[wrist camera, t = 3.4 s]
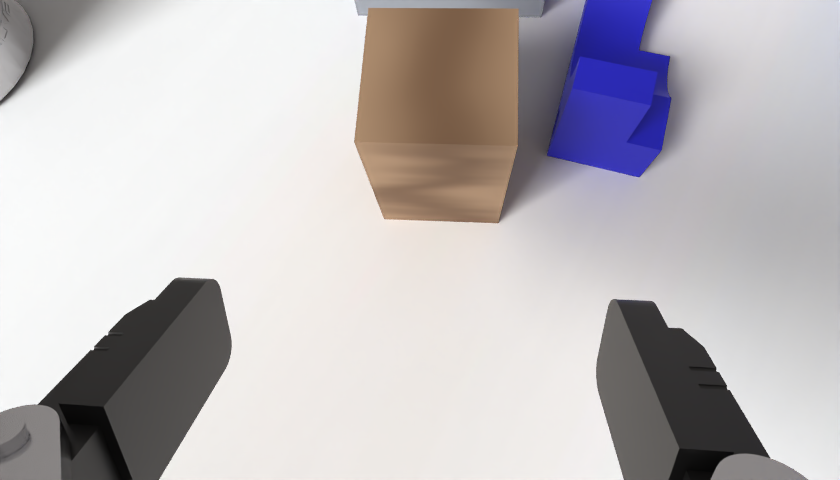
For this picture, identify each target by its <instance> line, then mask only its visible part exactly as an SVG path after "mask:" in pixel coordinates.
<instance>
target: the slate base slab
mask: <svg viewBox="0 0 840 480" xmlns="http://www.w3.org/2000/svg"><path fill="white" fill-rule="evenodd" d="M544 2H545V0H355V4H356V8H357V12H358V15H368V8H508V9H519V17H541V15H542V11H543V6H544Z"/></svg>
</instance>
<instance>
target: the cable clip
mask: <svg viewBox="0 0 840 480" xmlns="http://www.w3.org/2000/svg"><path fill="white" fill-rule="evenodd" d="M651 3H652V0H586V1H585V5H584V9H583V13H582V17H581V21H580V25H579V29H578V33H577V37H576V41H575V45H574V49H573V53H572V57H571V61H570V65H569V69H568V73H567V77H566V81H565V85H564V89H563V93H562V97H561V101H560V105H559V109H558V113H557V117H556V121H555V125H554V129H553V133H552V137H551V141H550V145H549V149H548V153H547V156H551V157H555V158H559V159H564V160H568V161H572V162H577V163H581V164H585V165H589V166H594V167H598V168H602V169H606V170H611V171H615V172H619V173H623V174H628V175H632V176H636V177H640V176H641V174H642V173H643V172H644V171H645V170H646V168H647V167H648V166H649V165H650V164H651V162H652V161H653V160H654V159H655V158H656V156H657V155H658V154H659V153H660V152H661V151H662V145H663V140H664V135H665V129H666V124H667V118H668V113H669V108H670V102H671V97H670V96H669V93H668V89H667V74H668V65H669V59H670V56H665V55H660V54H655V53H650V52H645V51H640V50H639V47H640V42H641V38H642V34H643V30H644V27H645V23H646V19H647V16H648V12H649V9H650V6H651Z"/></svg>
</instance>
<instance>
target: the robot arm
mask: <svg viewBox="0 0 840 480" xmlns="http://www.w3.org/2000/svg"><path fill="white" fill-rule="evenodd" d="M32 47H33V28H32V25H31V22H30V19H29V16H28V15H27V13H26V12H25V10H24V9H23V7H22V6H21V5H20V4H19V3H18V2H16V1H15V0H0V100H2V99H3V98H4V97H5V96H6V94H7V93H8V92H9V91H10V90H11V89H12V88H13V87H14V86H15V85H16V83H17V82H18V80H19V79H20V77H21V76H22V74H23V73H24V71H25V69H26V66H27V64H28V62H29V59H30V57H31V52H32ZM231 347H232V342H231V335H230V330H229V326H228V321H227V316H226V312H225V307H224V303H223V298H222V294H221V289H220V286H219V284H218V282H217V281H216V280H214V279H200V278H176V279H174V280H173V281H172V282H171V283H170V284H169V285H168V286H167V287H166V288H165V289H164V290H163V291H162V293H161V294H160V295H159V296H158V297H157V298H156V299H155V300H149V301H147V302H145V303H144V304H142V305H140V306H139V307H137V308H135V309H134V310H132V311H130V312H129V313H127V314H125V315H124V317H123V318H122V319H121V320H120V321H119V322H118V323H117V324H116V325H115V326H114V327H113V328H112V329H111V330H110V331H109V334H108V336H106V335H105V336H104V337H103V338H102V339H101V340H100V341H99V342H98V343H97V344H96V345H95V346H94V350H90V351H89V352H88V353H87V354H86V356H85V357H84V358H83V359H82V360H81V361H80V362H79V363H78V364H77V365H76V366H75V367H74V368H73V369H72V370H71V371H70V372H69V373H68V374H67V375H66V376H65V377H64V378H63V379H62V380H61V381H60V382H59V383H58V384H57V385H56V386H55V387H54V388H53V389H52V390H51V391H50V392H49V393H48V394H47V396H46V397H45V398H44V399H43V400H42V401H41V402H40V403H39V404H38V405H25V406H20V407H16V408H12V409H9V410H6V411H3V412H1V413H0V480H159V479H160V477H161V475H162V474H163V472H164V470H165V469H166V467H167V465H168V464H169V462H170V460H171V459H172V457H173V455H174V454H175V452H176V450H177V449H178V447H179V445H180V444H181V442H182V440H183V439H184V437H185V435H186V434H187V432H188V430H189V429H190V427H191V425H192V424H193V422H194V420H195V419H196V417H197V415H198V414H199V412H200V410H201V409H202V407H203V405H204V404H205V402H206V400H207V399H208V397H209V395H210V394H211V392H212V390H213V389H214V387H215V385H216V384H217V382H218V380H219V379H220V377H221V376H222V374H223V372H224V371H225V369H226V367H227V365H228V362H229V359H230V355H231ZM596 378H597V387H598V392H599V396H600V399H601V402H602V406H603V409H604V413H605V416H606V419H607V423H608V426H609V430H610V433H611V437H612V440H613V443H614V447H615V450H616V454H617V457H618V461H619V464H620V467H621V471H622V474H623V478H624V480H808V479H806V478H805V477H804V476H803V475H801V474H800V473H798V472H797V471H795V470H794V469H792V468H790V467H788V466H786V465H785V464H783V463H780V462H778V461H776V460H773V459H770V457H769V455H768V454H767V452H766V450H765V448H764V447H763V445H762V443H761V442H760V440H759V438H758V437H757V435H756V433H755V432H754V430H753V428H752V427H751V425H750V423H749V422H748V420H747V418H746V417H745V415H744V413H743V412H742V410H741V408H740V407H739V405H738V403H737V402H736V400H735V398H734V397H733V395H732V393H731V392H730V390H727V385H726V383H725V382H724V380H723V378H722V377H721V375H720V373H719V372H716V366H715V365H714V363H713V361H712V360H711V358H710V356H709V355H708V353H707V351H706V350H705V348H704V347H703V346H702V345H701V344H700V343H698V342H697V341H696V340H695V339H694V338H693V337H691V336H690V335H689V334H688V333H687V332H685V331H684V330H683V329H681V328H668V326H667V325H666V323H665V321H664V319H663V317H662V315H661V313H660V311H659V310H658V308H657V306H656V304H655V303H654V302H652V301H638V300H617V299H613V300H611V302H610V304H609V306H608V310H607V315H606V320H605V324H604V329H603V334H602V339H601V344H600V349H599V353H598V358H597V367H596Z"/></svg>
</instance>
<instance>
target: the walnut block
mask: <svg viewBox="0 0 840 480" xmlns="http://www.w3.org/2000/svg"><path fill="white" fill-rule="evenodd" d="M518 36H519V9H508V8H368V17H367V26H366V36H365V45H364V55H363V64H362V74H361V83H360V93H359V102H358V112H357V121H356V131H355V140H354V142H355V145H356V148H357V150H358V153H359V155H360V158H361V160H362V163H363V166H364V168H365V171H366V173H367V176H368V178H369V181H370V184H371V186H372V189H373V191H374V194H375V197H376V199H377V202H378V204H379V207H380V209H381V212H382V215H383V217H384V219H397V220H425V221H453V222H481V223H498V222H499V218H500V214H501V210H502V206H503V203H504V199H505V195H506V191H507V187H508V183H509V179H510V175H511V171H512V167H513V163H514V159H515V155H516V151H517V147H518Z"/></svg>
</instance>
